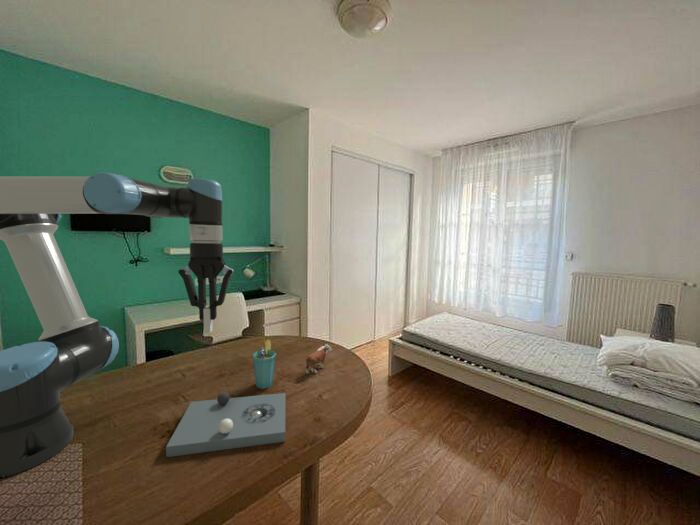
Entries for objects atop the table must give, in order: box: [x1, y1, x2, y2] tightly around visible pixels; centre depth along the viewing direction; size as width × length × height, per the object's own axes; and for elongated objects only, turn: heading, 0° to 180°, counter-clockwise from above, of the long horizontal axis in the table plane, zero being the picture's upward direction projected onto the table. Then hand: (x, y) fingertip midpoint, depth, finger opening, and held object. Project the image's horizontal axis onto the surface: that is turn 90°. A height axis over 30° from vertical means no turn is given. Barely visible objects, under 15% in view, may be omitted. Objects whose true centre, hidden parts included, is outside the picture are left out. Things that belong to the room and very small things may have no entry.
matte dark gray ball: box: [216, 391, 231, 405], centre depth 78 cm, size 3×3×3 cm
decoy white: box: [219, 418, 233, 434], centre depth 67 cm, size 3×3×3 cm
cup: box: [251, 339, 277, 390], centre depth 92 cm, size 14×8×15 cm, turn 11°
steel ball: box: [250, 410, 263, 419], centre depth 74 cm, size 3×3×3 cm
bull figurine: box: [305, 343, 333, 375], centre depth 105 cm, size 4×13×8 cm, turn 148°
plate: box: [165, 392, 286, 458], centre depth 73 cm, size 26×17×2 cm, turn 103°
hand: (208, 331), depth 73 cm, fingers closed
